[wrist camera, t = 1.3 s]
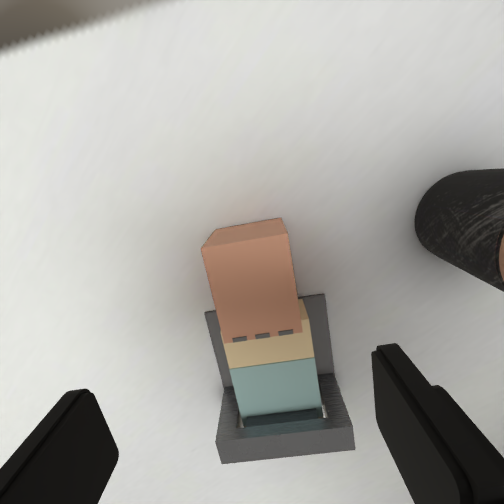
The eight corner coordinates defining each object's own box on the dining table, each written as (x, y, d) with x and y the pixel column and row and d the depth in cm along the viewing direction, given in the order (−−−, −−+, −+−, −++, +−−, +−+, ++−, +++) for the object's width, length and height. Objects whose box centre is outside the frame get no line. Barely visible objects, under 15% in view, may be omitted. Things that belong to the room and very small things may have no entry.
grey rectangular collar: (335, 392, 27) (355, 449, 21) (229, 406, 28) (221, 464, 22) (333, 372, 26) (352, 426, 21) (224, 386, 27) (215, 441, 22)
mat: (337, 400, 28) (338, 402, 27) (231, 413, 29) (231, 415, 28) (324, 293, 24) (324, 295, 24) (205, 312, 25) (204, 313, 25)
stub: (292, 294, 24) (303, 333, 18) (232, 303, 25) (224, 344, 19) (280, 217, 22) (287, 233, 17) (215, 229, 23) (200, 248, 17)
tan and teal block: (316, 397, 27) (325, 429, 24) (248, 405, 28) (246, 439, 24) (302, 298, 24) (309, 319, 21) (225, 310, 25) (220, 332, 21)
